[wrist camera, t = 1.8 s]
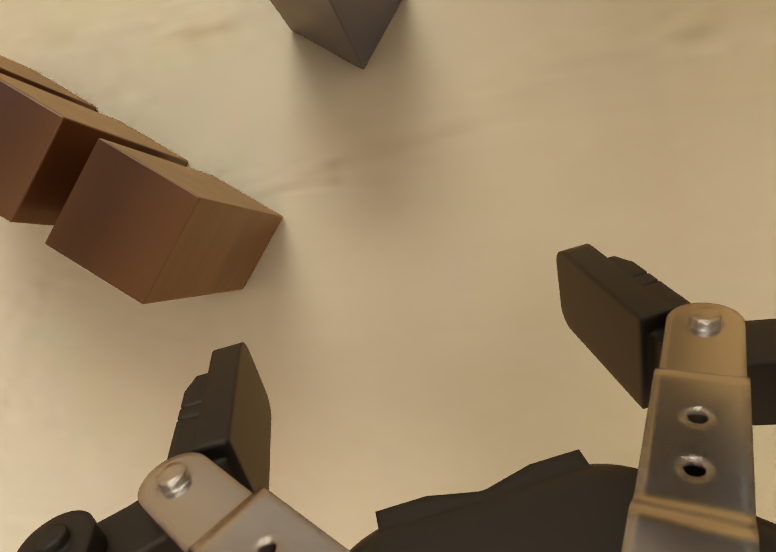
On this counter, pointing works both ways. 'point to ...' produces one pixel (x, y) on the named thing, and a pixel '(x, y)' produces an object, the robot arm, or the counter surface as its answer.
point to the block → (340, 24)
